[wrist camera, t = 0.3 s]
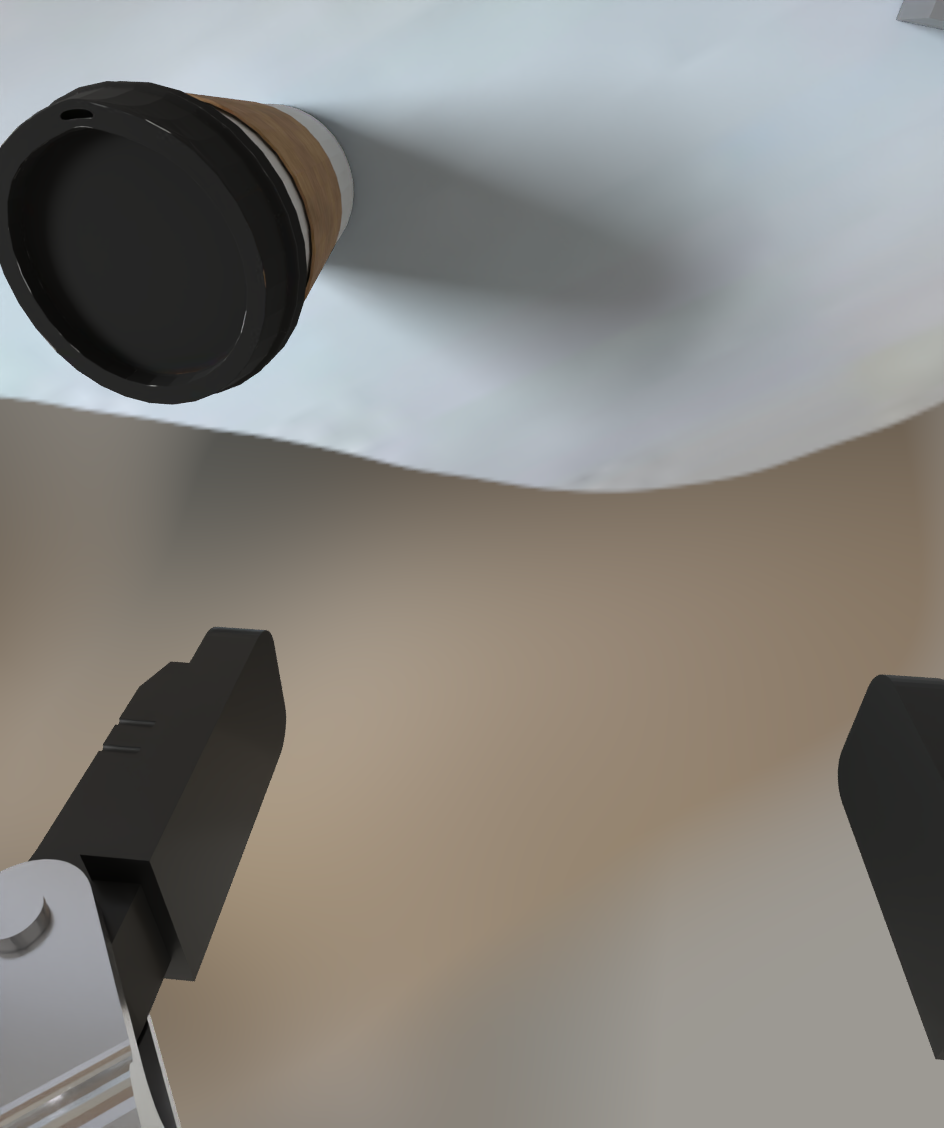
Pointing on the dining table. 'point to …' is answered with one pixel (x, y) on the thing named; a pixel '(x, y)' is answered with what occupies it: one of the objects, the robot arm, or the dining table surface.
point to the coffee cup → (168, 232)
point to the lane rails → (923, 13)
